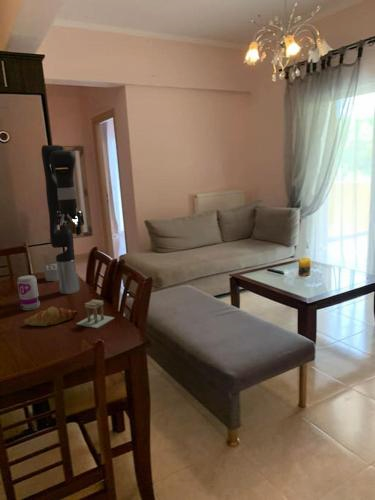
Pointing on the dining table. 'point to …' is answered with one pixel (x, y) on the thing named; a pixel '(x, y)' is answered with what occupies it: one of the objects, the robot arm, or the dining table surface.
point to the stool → (94, 309)
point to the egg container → (51, 272)
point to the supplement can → (28, 292)
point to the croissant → (50, 316)
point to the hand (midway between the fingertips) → (71, 234)
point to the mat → (92, 323)
